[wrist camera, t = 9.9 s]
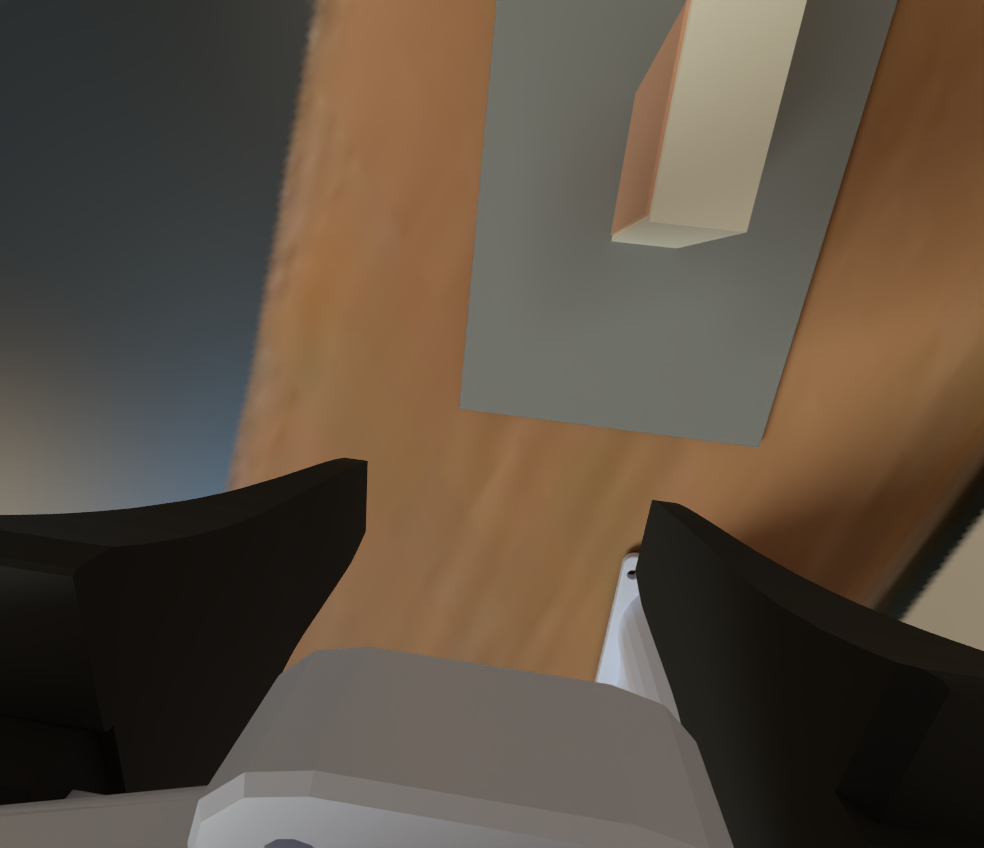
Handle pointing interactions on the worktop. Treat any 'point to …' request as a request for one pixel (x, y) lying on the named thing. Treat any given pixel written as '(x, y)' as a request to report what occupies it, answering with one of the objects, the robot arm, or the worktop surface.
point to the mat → (634, 267)
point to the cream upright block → (705, 122)
